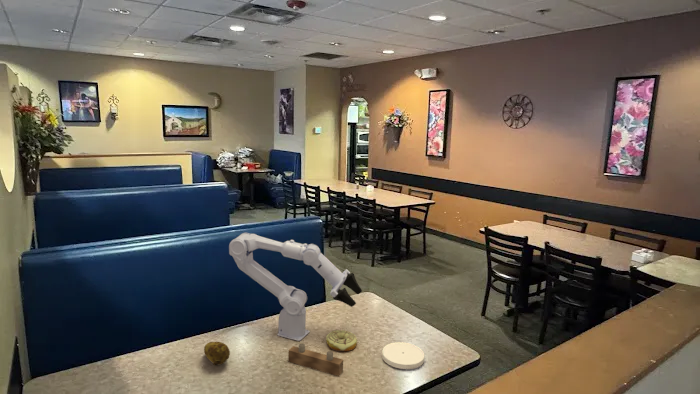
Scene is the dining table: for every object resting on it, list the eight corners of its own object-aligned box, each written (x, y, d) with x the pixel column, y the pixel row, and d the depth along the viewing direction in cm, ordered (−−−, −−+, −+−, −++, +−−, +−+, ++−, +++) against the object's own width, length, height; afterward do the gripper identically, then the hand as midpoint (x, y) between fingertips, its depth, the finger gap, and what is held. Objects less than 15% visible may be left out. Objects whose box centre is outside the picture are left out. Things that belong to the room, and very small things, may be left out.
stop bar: (288, 361, 135) (288, 344, 134) (293, 357, 138) (293, 340, 137) (338, 376, 128) (339, 358, 127) (342, 371, 131) (343, 353, 130)
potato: (231, 350, 140) (231, 328, 139) (229, 372, 128) (229, 348, 127) (205, 352, 138) (204, 330, 137) (200, 375, 126) (200, 351, 125)
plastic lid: (413, 346, 148) (413, 340, 148) (431, 369, 135) (431, 362, 134) (376, 351, 144) (376, 344, 144) (390, 374, 131) (391, 367, 131)
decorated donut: (345, 357, 140) (345, 346, 139) (320, 346, 146) (320, 336, 145) (362, 344, 148) (362, 334, 147) (338, 334, 154) (338, 325, 153)
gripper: (329, 277, 139) (358, 305, 140) (343, 256, 152) (369, 281, 153) (316, 288, 143) (345, 315, 143) (331, 266, 155) (357, 291, 156)
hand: (357, 298), depth 148 cm, fingers open, 7 cm apart
